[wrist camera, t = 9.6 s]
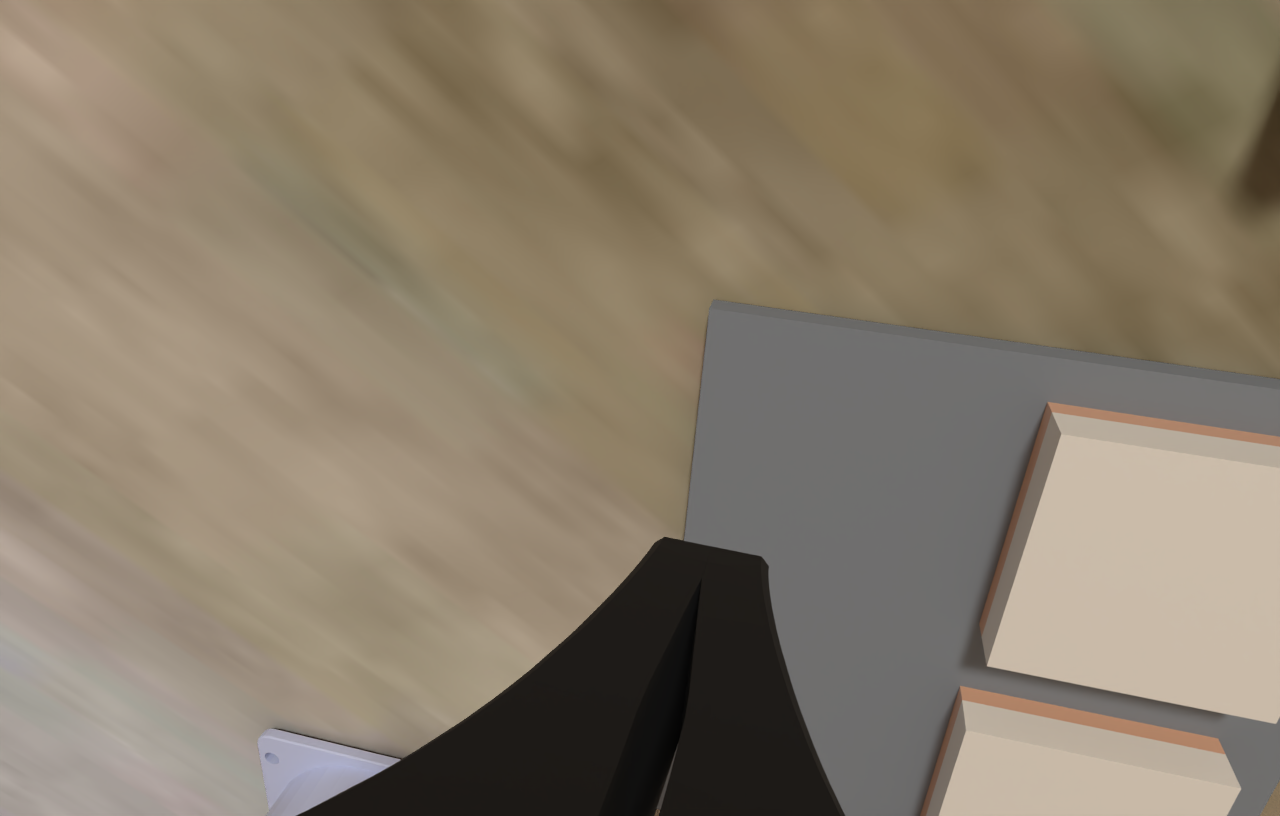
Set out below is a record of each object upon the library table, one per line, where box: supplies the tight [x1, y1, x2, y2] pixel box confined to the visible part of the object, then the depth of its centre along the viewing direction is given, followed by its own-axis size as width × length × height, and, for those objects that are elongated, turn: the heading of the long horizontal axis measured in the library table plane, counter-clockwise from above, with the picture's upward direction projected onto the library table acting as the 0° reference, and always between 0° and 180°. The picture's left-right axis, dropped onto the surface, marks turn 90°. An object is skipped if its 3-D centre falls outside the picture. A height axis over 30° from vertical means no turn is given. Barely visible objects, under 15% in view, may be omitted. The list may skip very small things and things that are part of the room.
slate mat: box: [657, 300, 1280, 816], centre depth 22 cm, size 16×15×1 cm
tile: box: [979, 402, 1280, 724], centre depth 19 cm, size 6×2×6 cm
